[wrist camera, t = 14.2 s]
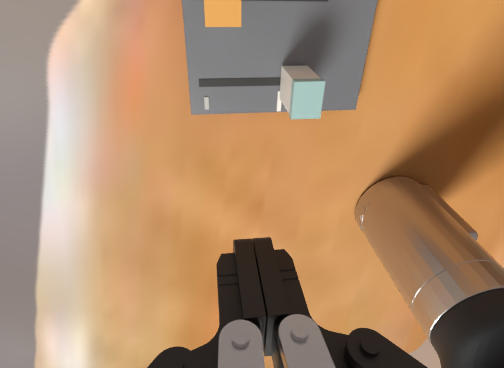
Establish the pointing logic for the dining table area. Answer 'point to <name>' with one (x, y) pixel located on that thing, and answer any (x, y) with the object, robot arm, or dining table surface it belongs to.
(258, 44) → the console
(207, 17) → the fader
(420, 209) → the robot arm
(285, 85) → the block
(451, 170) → the dining table surface
